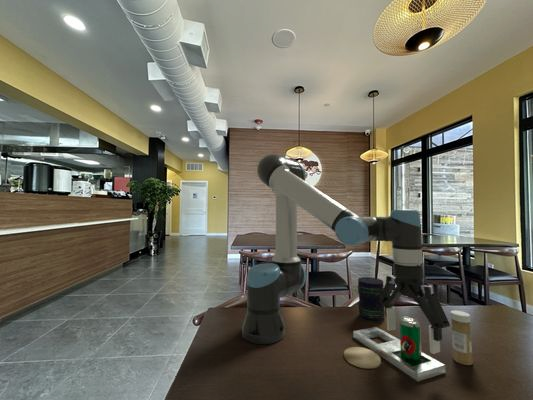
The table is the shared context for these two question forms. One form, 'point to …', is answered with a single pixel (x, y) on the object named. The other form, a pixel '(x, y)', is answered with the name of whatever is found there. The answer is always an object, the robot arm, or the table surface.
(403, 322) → the soda can
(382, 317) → the dark blue canister
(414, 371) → the white flat rectangular frame
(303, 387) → the table surface
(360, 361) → the coaster
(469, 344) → the sprinkles bottle
